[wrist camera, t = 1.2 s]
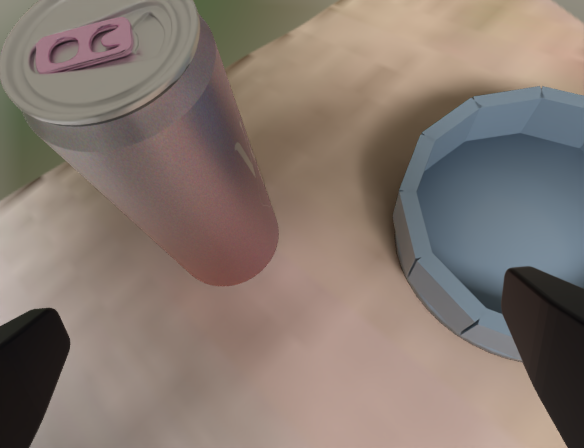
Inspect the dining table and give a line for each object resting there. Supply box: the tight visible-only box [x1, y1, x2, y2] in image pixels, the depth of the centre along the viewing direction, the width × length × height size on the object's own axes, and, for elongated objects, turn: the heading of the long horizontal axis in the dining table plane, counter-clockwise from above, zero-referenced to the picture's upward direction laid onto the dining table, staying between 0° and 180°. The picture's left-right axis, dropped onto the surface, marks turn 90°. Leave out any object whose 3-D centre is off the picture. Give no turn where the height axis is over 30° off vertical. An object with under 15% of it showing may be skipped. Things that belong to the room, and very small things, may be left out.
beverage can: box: [0, 0, 279, 286], centre depth 18 cm, size 6×6×15 cm
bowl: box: [393, 86, 584, 362], centre depth 21 cm, size 14×14×4 cm
